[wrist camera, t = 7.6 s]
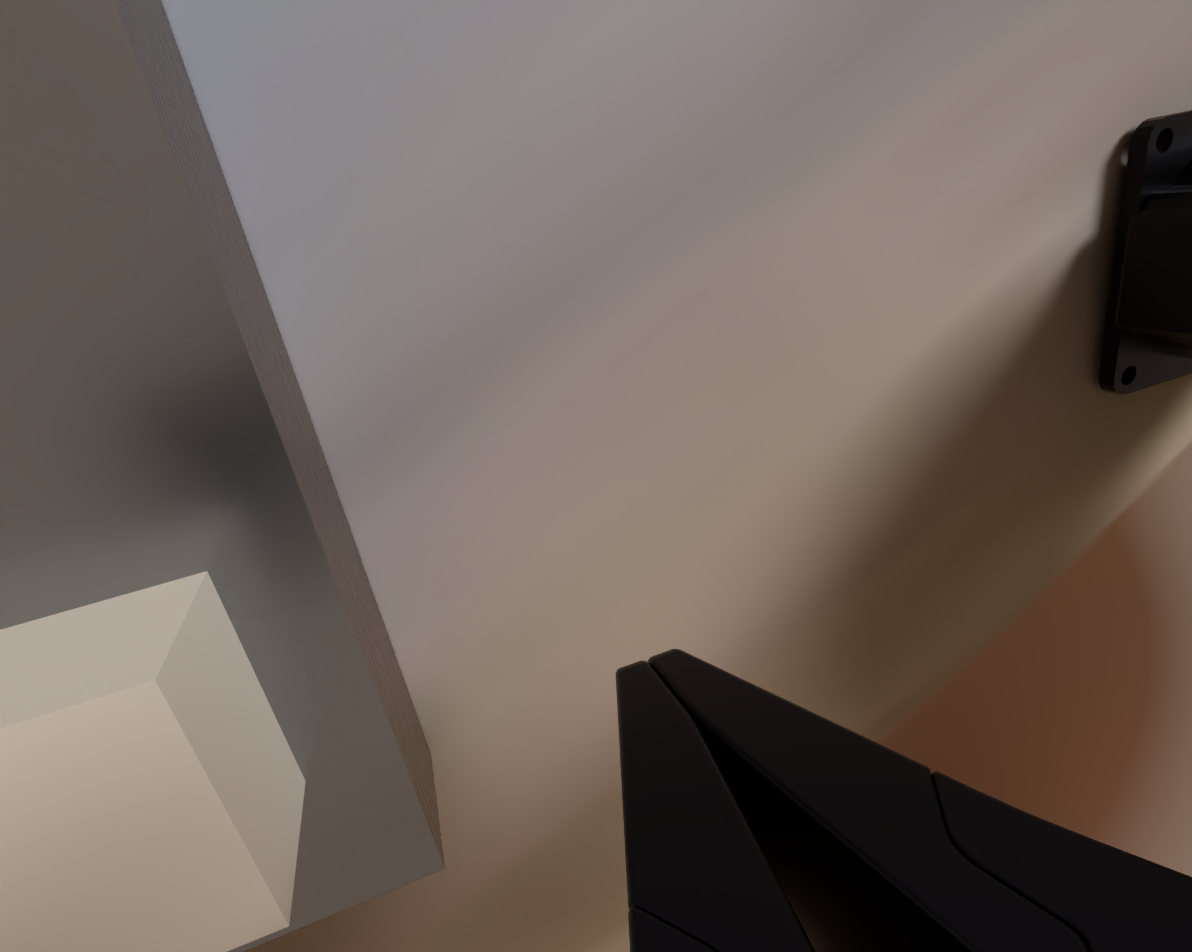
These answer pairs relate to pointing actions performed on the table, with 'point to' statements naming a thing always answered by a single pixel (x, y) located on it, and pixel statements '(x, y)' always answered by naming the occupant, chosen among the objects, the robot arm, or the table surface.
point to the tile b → (141, 781)
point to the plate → (183, 427)
